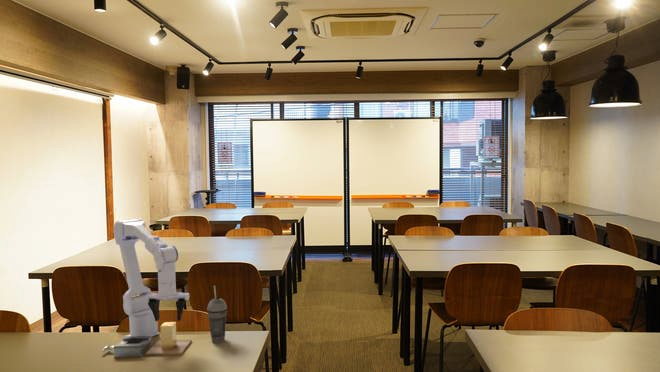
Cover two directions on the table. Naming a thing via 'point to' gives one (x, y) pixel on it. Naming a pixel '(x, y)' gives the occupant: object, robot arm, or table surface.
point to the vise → (131, 346)
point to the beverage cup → (217, 318)
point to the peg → (168, 335)
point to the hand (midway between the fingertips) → (168, 320)
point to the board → (177, 350)
